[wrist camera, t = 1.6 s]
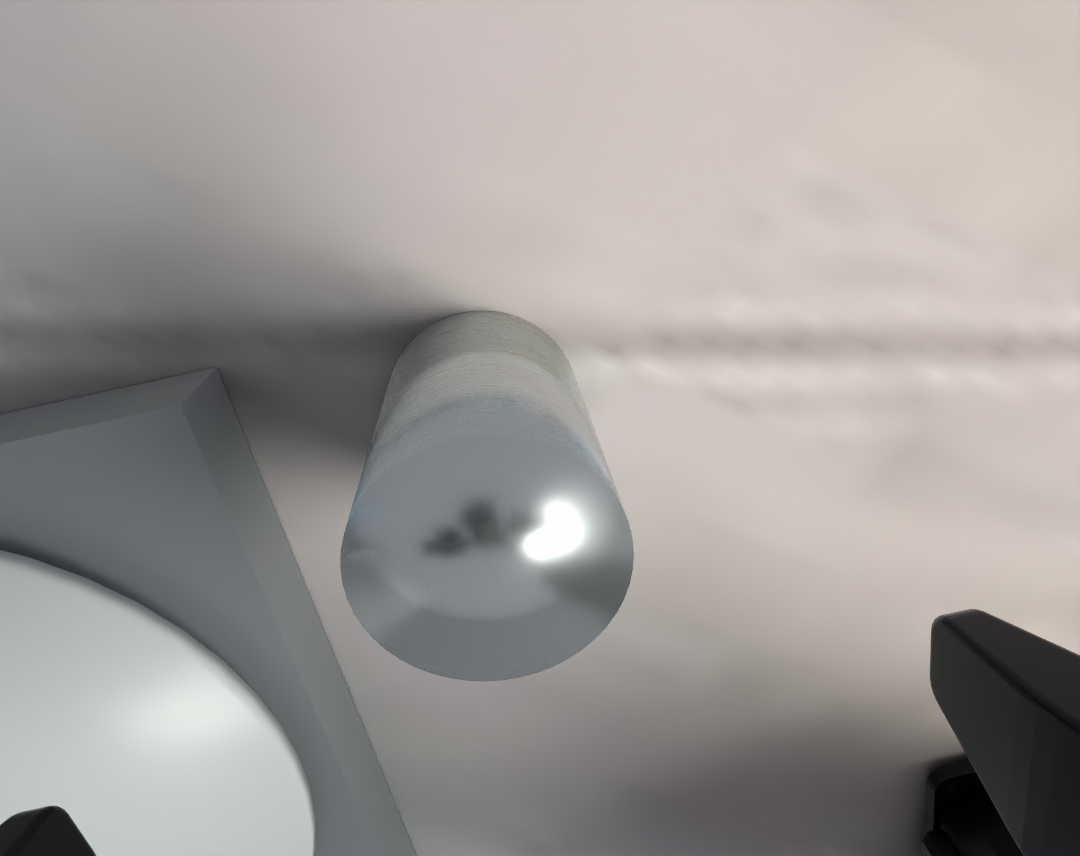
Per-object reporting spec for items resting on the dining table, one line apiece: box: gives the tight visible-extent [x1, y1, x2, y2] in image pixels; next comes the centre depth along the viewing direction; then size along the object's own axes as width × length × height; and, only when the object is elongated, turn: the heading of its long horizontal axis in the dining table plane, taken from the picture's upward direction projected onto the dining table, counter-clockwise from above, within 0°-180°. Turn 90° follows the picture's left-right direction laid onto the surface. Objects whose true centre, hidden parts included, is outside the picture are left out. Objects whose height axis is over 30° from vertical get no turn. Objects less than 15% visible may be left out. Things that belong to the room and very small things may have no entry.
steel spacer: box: [341, 311, 634, 681], centre depth 13 cm, size 4×4×6 cm
